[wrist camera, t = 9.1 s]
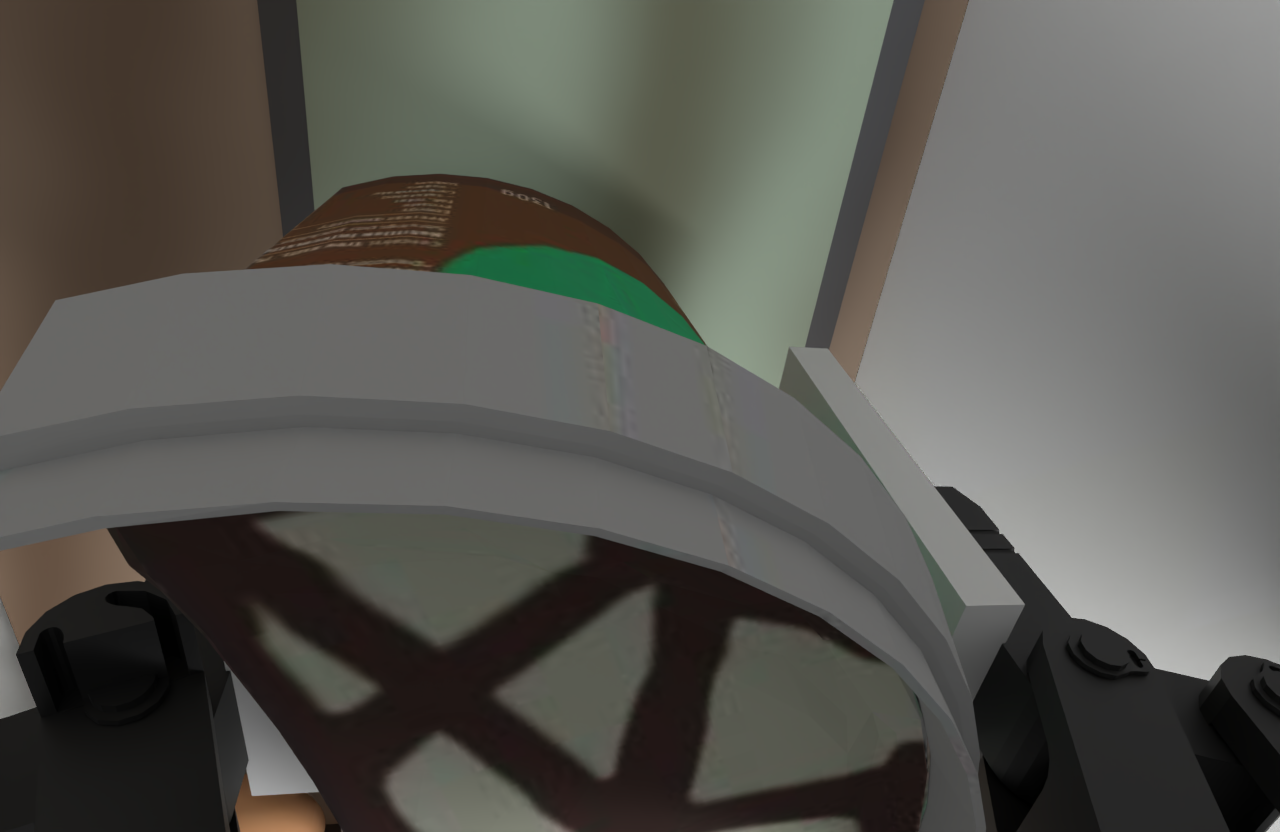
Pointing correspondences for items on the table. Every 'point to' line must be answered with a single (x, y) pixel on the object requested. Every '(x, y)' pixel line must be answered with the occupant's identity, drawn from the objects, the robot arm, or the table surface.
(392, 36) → the picture board
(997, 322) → the table surface
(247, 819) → the button
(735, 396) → the food container
